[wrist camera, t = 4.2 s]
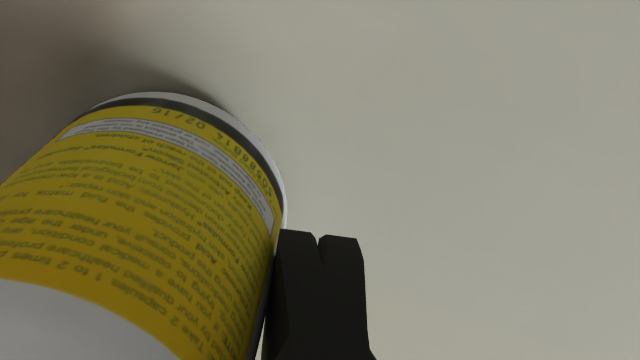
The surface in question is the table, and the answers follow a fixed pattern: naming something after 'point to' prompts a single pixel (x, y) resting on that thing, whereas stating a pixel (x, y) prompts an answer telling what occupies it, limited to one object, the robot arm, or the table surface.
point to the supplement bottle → (140, 236)
